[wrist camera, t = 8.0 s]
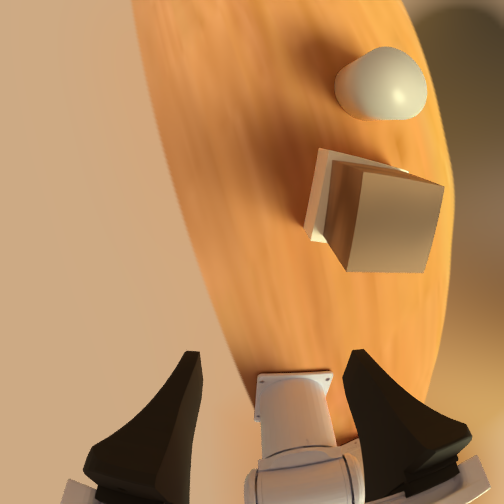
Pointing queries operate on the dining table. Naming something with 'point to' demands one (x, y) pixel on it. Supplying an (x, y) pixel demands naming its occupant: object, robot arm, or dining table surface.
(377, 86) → the cream smooth round part
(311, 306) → the dining table surface
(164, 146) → the dining table surface
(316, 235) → the cream block
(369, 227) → the walnut cube
